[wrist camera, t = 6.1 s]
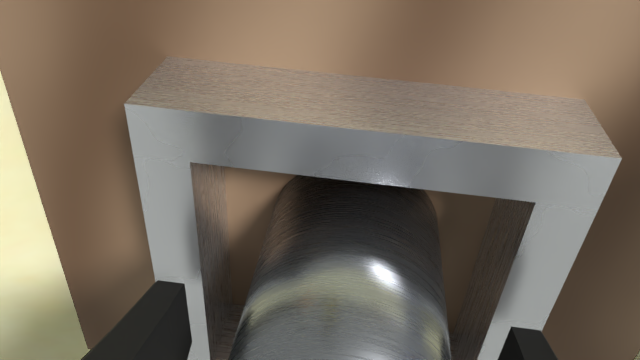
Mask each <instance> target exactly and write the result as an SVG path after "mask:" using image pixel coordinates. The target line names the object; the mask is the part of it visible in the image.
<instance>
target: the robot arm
mask: <svg viewBox="0 0 640 360" xmlns="http://www.w3.org/2000/svg"><path fill="white" fill-rule="evenodd" d="M191 345H192V336H191V329H190V321H189V313H188V306H187V298H186V290H185V284H183V283H176V282H168V281H161V280H158V281H156V282H155V283H154V284H153V285H152V286H151V287H150V288H149V289H148V290H147V291H146V293H145V294H144V295H143V296H142V297H141V298H140V299H139V300H138V301H137V302H136V304H135V305H134V306H133V307H132V308H131V309H130V310H129V311H128V312H127V313H126V314H125V315H124V316H123V318H122V319H121V320H120V321H119V322H118V323H117V324H116V325H115V326H114V327H113V328H112V329H111V330H110V331H109V332H108V333H107V334H106V335H105V336H104V337H103V338H102V339H101V340H100V341H99V342H98V343H97V344H96V345H95V346H94V347H93V348H92V349H91V350H90V351H89V352H88V353H87V354H86V355H85V356H84V357H83V358H82V359H81V360H187V359H188V355H189V352H190V348H191ZM498 360H558V358H557V356H556V355H555V353H554V351H553V350H552V348H551V346H550V345H549V343H548V341H547V340H546V338H545V336H544V335H543V333H542V332H541V331H540V330H534V329H527V328H519V327H512V326H511V328H510V331H509V333H508V335H507V338H506V340H505V343H504V345H503V348H502V350H501V353H500V355H499V357H498Z"/></svg>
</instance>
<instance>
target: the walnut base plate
mask: <svg viewBox="0 0 640 360" xmlns="http://www.w3.org/2000/svg"><path fill="white" fill-rule="evenodd" d="M168 56H169V57H178V58H188V59H198V60H207V61H217V62H227V63H236V64H246V65H256V66H265V67H275V68H285V69H294V70H304V71H314V72H324V73H333V74H343V75H353V76H362V77H372V78H382V79H391V80H401V81H411V82H420V83H430V84H440V85H449V86H459V87H469V88H478V89H488V90H498V91H507V92H517V93H527V94H536V95H546V96H556V97H565V98H575V99H584V100H585V101H586V103H587V104H588V106H589V107H590V109H591V111H592V112H593V114H594V115H595V117H596V118H597V120H598V122H599V123H600V125H601V126H602V128H603V129H604V131H605V133H606V134H607V136H608V137H609V139H610V140H611V142H612V144H613V145H614V147H615V148H616V150H617V151H618V153H619V155H620V156H621V158H622V160H621V162H620V164H619V166H618V168H617V170H616V173H615V175H614V177H613V179H612V181H611V183H610V185H609V188H608V190H607V192H606V194H605V196H604V198H603V200H602V203H601V205H600V207H599V209H598V211H597V213H596V216H595V218H594V220H593V222H592V224H591V226H590V228H589V231H588V233H587V235H586V237H585V239H584V241H583V244H582V246H581V248H580V250H579V252H578V254H577V256H576V259H575V261H574V263H573V265H572V267H571V269H570V271H569V274H568V276H567V278H566V280H565V282H564V284H563V287H562V289H561V291H560V293H559V295H558V297H557V299H556V302H555V304H554V306H553V308H552V310H551V312H550V314H549V317H548V319H547V321H546V323H545V325H544V327H543V330H542V333H543V335H544V336H545V338H546V340H547V341H548V343H549V345H550V346H551V348H552V350H553V351H554V353H555V355H556V356H557V358H558V360H634V358H635V357H636V355H637V354H638V352H639V351H640V0H0V71H1V74H2V77H3V80H4V83H5V86H6V90H7V93H8V96H9V99H10V102H11V106H12V109H13V112H14V115H15V118H16V121H17V125H18V128H19V131H20V134H21V137H22V140H23V144H24V147H25V150H26V153H27V156H28V160H29V163H30V166H31V169H32V172H33V175H34V179H35V182H36V185H37V188H38V191H39V194H40V198H41V201H42V204H43V207H44V210H45V214H46V217H47V220H48V223H49V226H50V229H51V233H52V236H53V239H54V242H55V245H56V249H57V252H58V255H59V258H60V261H61V264H62V268H63V271H64V274H65V277H66V280H67V283H68V287H69V290H70V293H71V296H72V299H73V303H74V306H75V309H76V312H77V315H78V318H79V322H80V325H81V328H82V331H83V334H84V337H85V341H86V344H87V347H88V349H92V348H93V347H94V346H95V345H96V344H97V343H98V342H99V341H100V340H101V339H102V338H103V337H104V336H105V335H106V334H107V333H108V332H109V331H110V330H111V329H112V328H113V327H114V326H115V325H116V324H117V323H118V322H119V321H120V320H121V319H122V318H123V316H124V315H125V314H126V313H127V312H128V311H129V310H130V309H131V308H132V307H133V306H134V305H135V304H136V302H137V301H138V300H139V299H140V298H141V297H142V296H143V295H144V294H145V293H146V291H147V290H148V289H149V288H150V287H151V286H152V285H153V284H154V283H155V276H154V271H153V265H152V259H151V253H150V248H149V242H148V236H147V231H146V225H145V219H144V214H143V208H142V202H141V197H140V191H139V185H138V180H137V174H136V168H135V163H134V157H133V151H132V146H131V140H130V134H129V129H128V123H127V117H126V111H125V106H124V103H125V102H126V101H127V100H128V99H129V98H130V97H131V96H132V95H133V94H134V93H135V91H136V90H137V89H138V88H139V87H140V86H141V85H142V84H143V83H144V82H145V81H146V79H147V78H148V77H149V76H150V75H151V74H152V73H153V72H154V71H155V70H156V69H157V67H158V66H159V65H160V64H161V63H162V62H163V61H164V60H165V59H166V58H167V57H168ZM295 176H296V175H295V174H287V173H278V172H269V171H261V170H252V169H243V168H235V167H226V166H225V182H226V199H227V217H228V234H229V252H230V269H231V287H232V303H233V304H240V305H245V302H246V299H247V295H248V292H249V289H250V285H251V282H252V279H253V275H254V272H255V269H256V265H257V262H258V259H259V256H260V252H261V249H262V246H263V242H264V239H265V236H266V232H267V229H268V226H269V222H270V219H271V216H272V213H273V209H274V206H275V203H276V200H277V198H278V196H279V194H280V192H281V191H282V189H283V188H284V187H285V185H286V184H287V183H288V182H289V181H290V180H291V179H292V178H294V177H295ZM423 190H424V189H423ZM424 191H425V192H426V193H427V195H428V196H429V198H430V199H431V201H432V203H433V205H434V208H435V211H436V214H437V219H438V229H439V240H440V250H441V260H442V270H443V280H444V290H445V301H446V311H447V321H448V331H449V332H451V333H453V332H454V329H455V326H456V323H457V320H458V317H459V313H460V310H461V307H462V304H463V301H464V298H465V294H466V291H467V288H468V285H469V282H470V279H471V275H472V272H473V269H474V266H475V263H476V260H477V256H478V253H479V250H480V247H481V244H482V241H483V237H484V234H485V231H486V228H487V225H488V222H489V218H490V215H491V212H492V209H493V206H494V203H495V199H496V198H493V197H485V196H476V195H467V194H459V193H450V192H442V191H433V190H424Z"/></svg>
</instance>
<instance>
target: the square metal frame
mask: <svg viewBox="0 0 640 360" xmlns="http://www.w3.org/2000/svg"><path fill="white" fill-rule="evenodd" d="M124 106H125V111H126V117H127V123H128V129H129V134H130V140H131V146H132V151H133V157H134V163H135V168H136V174H137V180H138V185H139V191H140V197H141V202H142V208H143V214H144V219H145V225H146V231H147V236H148V242H149V248H150V253H151V259H152V265H153V271H154V276H155V282H156V281H158V280H161V281H168V282H176V283H183V284H185V290H186V298H187V306H188V313H189V321H190V329H191V336H192V345H191V348H190V352H189V355H188V359H187V360H228V358H229V355H230V351H231V348H232V345H233V342H234V338H235V335H236V332H237V328H238V325H239V322H240V318H241V315H242V312H243V308H244V305H240V304H233V303H232V287H231V269H230V252H229V234H228V217H227V199H226V182H225V166H226V167H235V168H243V169H252V170H261V171H269V172H278V173H287V174H295V175H304V176H312V177H321V178H330V179H338V180H347V181H355V182H364V183H373V184H381V185H390V186H399V187H407V188H416V189H424V190H433V191H442V192H450V193H459V194H467V195H476V196H485V197H493V198H496V199H495V203H494V206H493V209H492V212H491V215H490V218H489V222H488V225H487V228H486V231H485V234H484V237H483V241H482V244H481V247H480V250H479V253H478V256H477V260H476V263H475V266H474V269H473V272H472V275H471V279H470V282H469V285H468V288H467V291H466V294H465V298H464V301H463V304H462V307H461V310H460V313H459V317H458V320H457V323H456V326H455V329H454V332H453V333H451V332H449V341H450V351H451V360H498V357H499V355H500V353H501V350H502V348H503V345H504V343H505V340H506V338H507V335H508V333H509V331H510V328H511V326H512V327H519V328H527V329H534V330H540V331H541V332H542V330H543V327H544V325H545V323H546V321H547V319H548V317H549V314H550V312H551V310H552V308H553V306H554V304H555V302H556V299H557V297H558V295H559V293H560V291H561V289H562V287H563V284H564V282H565V280H566V278H567V276H568V274H569V271H570V269H571V267H572V265H573V263H574V261H575V259H576V256H577V254H578V252H579V250H580V248H581V246H582V244H583V241H584V239H585V237H586V235H587V233H588V231H589V228H590V226H591V224H592V222H593V220H594V218H595V216H596V213H597V211H598V209H599V207H600V205H601V203H602V200H603V198H604V196H605V194H606V192H607V190H608V188H609V185H610V183H611V181H612V179H613V177H614V175H615V173H616V170H617V168H618V166H619V164H620V162H621V160H622V158H621V156H620V155H619V153H618V151H617V150H616V148H615V147H614V145H613V144H612V142H611V140H610V139H609V137H608V136H607V134H606V133H605V131H604V129H603V128H602V126H601V125H600V123H599V122H598V120H597V118H596V117H595V115H594V114H593V112H592V111H591V109H590V107H589V106H588V104H587V103H586V101H585V100H584V99H575V98H565V97H556V96H546V95H536V94H527V93H517V92H507V91H498V90H488V89H478V88H469V87H459V86H449V85H440V84H430V83H420V82H411V81H401V80H391V79H382V78H372V77H362V76H353V75H343V74H333V73H324V72H314V71H304V70H294V69H285V68H275V67H265V66H256V65H246V64H236V63H227V62H217V61H207V60H198V59H188V58H178V57H169V56H168V57H167V58H166V59H165V60H164V61H163V62H162V63H161V64H160V65H159V66H158V67H157V69H156V70H155V71H154V72H153V73H152V74H151V75H150V76H149V77H148V78H147V79H146V81H145V82H144V83H143V84H142V85H141V86H140V87H139V88H138V89H137V90H136V91H135V93H134V94H133V95H132V96H131V97H130V98H129V99H128V100H127V101H126V102H125V103H124Z"/></svg>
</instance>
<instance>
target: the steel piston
mask: <svg viewBox="0 0 640 360" xmlns="http://www.w3.org/2000/svg"><path fill="white" fill-rule="evenodd" d="M228 360H451V351H450V341H449V331H448V321H447V311H446V301H445V290H444V280H443V270H442V260H441V250H440V240H439V229H438V219H437V214H436V211H435V208H434V205H433V203H432V201H431V199H430V198H429V196H428V195H427V193H426V192H425V191H424V190H423V189H416V188H407V187H399V186H390V185H381V184H373V183H364V182H355V181H347V180H338V179H330V178H321V177H312V176H304V175H296V176H295V177H294V178H292V179H291V180H290V181H289V182H288V183H287V184H286V185H285V187H284V188H283V189H282V191H281V192H280V194H279V196H278V198H277V200H276V203H275V206H274V209H273V213H272V216H271V219H270V222H269V226H268V229H267V232H266V236H265V239H264V242H263V246H262V249H261V252H260V256H259V259H258V262H257V265H256V269H255V272H254V275H253V279H252V282H251V285H250V289H249V292H248V295H247V299H246V302H245V305H244V308H243V312H242V315H241V318H240V322H239V325H238V328H237V332H236V335H235V338H234V342H233V345H232V348H231V351H230V355H229V358H228Z"/></svg>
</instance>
